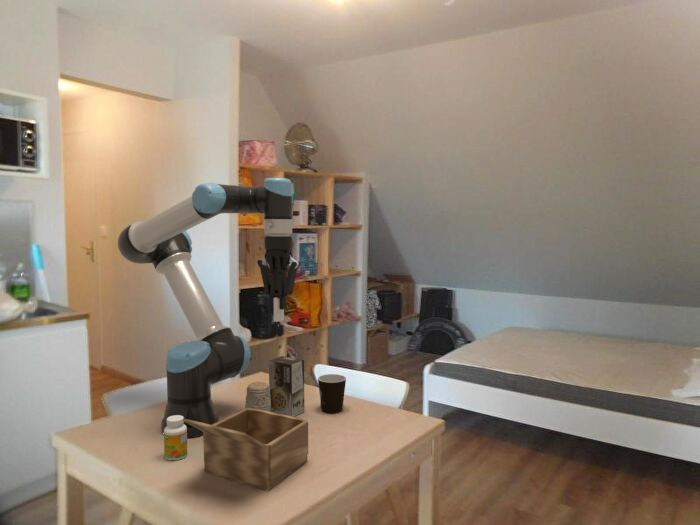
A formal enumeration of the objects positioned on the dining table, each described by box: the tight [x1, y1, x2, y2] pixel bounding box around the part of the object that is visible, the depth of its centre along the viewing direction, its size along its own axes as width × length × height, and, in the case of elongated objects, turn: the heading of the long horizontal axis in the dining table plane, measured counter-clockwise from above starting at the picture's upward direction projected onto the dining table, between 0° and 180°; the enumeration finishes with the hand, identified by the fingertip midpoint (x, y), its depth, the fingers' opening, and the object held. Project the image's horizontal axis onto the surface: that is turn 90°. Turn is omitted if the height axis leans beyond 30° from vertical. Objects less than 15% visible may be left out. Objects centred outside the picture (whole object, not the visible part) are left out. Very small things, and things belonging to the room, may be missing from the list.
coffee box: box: [268, 355, 305, 417], centre depth 160 cm, size 9×6×16 cm
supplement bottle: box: [163, 415, 188, 461], centre depth 130 cm, size 5×5×10 cm
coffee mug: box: [317, 373, 347, 415], centre depth 164 cm, size 12×9×10 cm
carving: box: [244, 381, 271, 412], centre depth 150 cm, size 6×8×12 cm
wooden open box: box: [202, 408, 309, 492], centre depth 125 cm, size 19×17×10 cm
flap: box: [182, 418, 265, 447], centre depth 114 cm, size 17×8×1 cm
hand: (278, 320), depth 147 cm, fingers closed
